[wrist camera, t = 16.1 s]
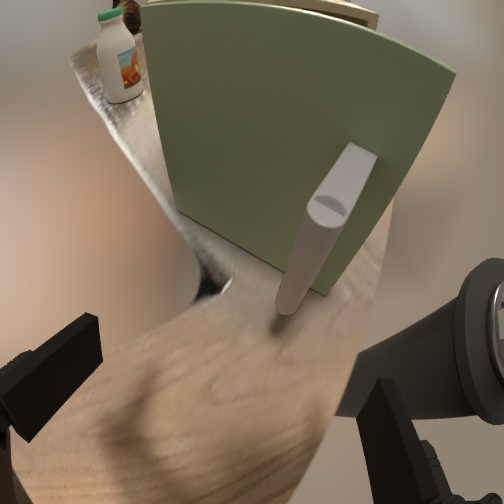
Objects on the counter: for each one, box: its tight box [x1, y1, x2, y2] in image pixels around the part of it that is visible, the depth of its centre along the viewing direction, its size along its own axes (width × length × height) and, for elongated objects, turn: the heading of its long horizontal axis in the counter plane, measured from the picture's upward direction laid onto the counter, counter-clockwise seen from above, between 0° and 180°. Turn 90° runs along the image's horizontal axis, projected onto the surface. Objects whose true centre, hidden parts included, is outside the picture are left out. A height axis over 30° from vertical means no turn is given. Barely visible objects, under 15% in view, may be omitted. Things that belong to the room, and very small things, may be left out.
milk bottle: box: [97, 7, 143, 103], centre depth 36 cm, size 8×8×20 cm
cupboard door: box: [140, 0, 456, 315], centre depth 17 cm, size 7×18×22 cm, turn 57°
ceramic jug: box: [112, 0, 141, 35], centre depth 66 cm, size 17×15×30 cm
